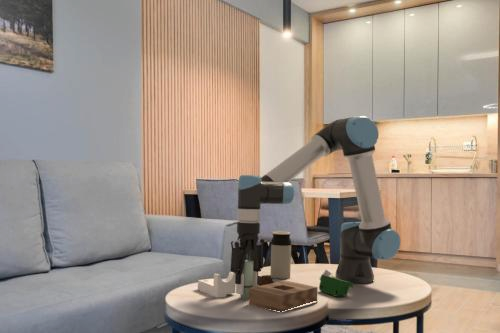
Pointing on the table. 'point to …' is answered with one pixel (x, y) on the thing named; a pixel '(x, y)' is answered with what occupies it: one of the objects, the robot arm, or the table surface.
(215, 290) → the bracket
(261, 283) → the bolt
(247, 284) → the peg
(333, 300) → the table surface
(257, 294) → the board
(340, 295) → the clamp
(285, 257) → the travel mug
